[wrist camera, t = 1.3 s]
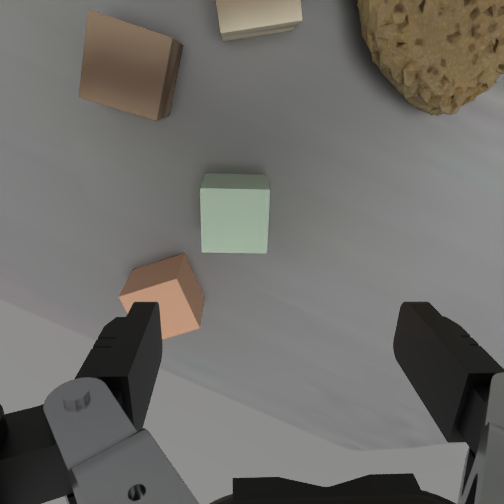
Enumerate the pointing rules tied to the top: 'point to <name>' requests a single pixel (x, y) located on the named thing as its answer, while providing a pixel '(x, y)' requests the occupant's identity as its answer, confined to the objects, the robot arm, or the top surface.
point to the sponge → (436, 48)
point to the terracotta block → (167, 294)
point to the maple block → (257, 17)
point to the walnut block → (128, 67)
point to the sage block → (234, 213)
